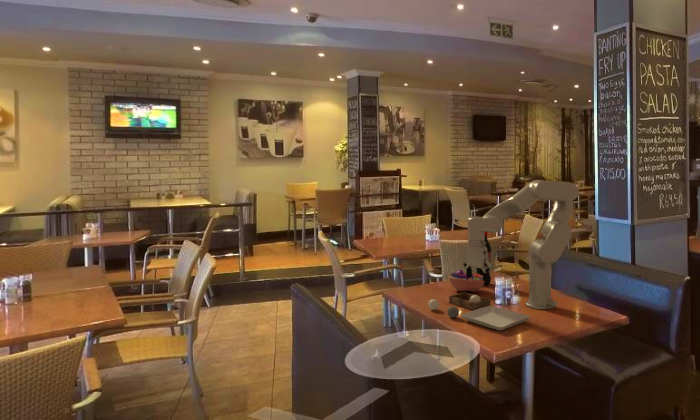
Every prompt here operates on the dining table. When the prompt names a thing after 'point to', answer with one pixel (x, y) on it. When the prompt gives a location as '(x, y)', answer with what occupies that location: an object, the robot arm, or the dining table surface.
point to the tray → (468, 301)
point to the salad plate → (495, 317)
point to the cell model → (466, 281)
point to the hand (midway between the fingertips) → (477, 278)
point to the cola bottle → (479, 270)
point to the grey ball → (452, 312)
